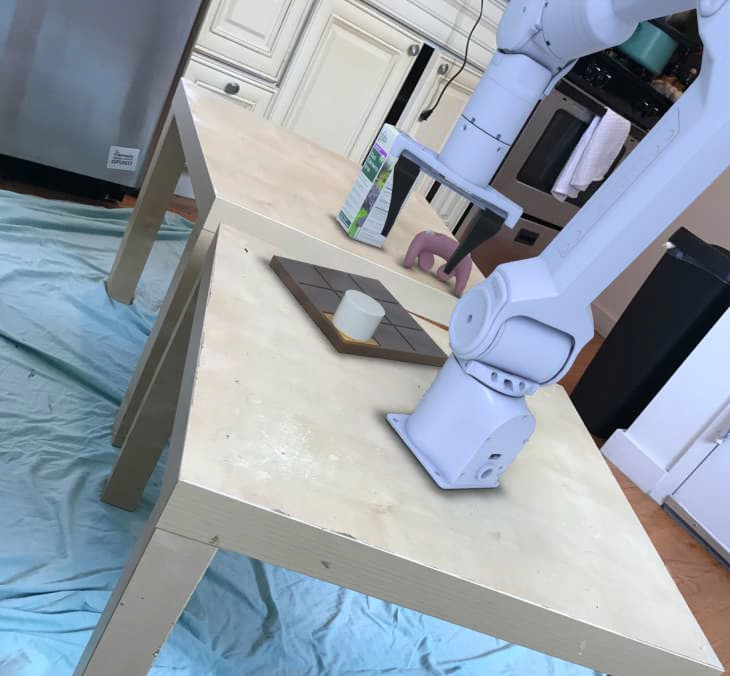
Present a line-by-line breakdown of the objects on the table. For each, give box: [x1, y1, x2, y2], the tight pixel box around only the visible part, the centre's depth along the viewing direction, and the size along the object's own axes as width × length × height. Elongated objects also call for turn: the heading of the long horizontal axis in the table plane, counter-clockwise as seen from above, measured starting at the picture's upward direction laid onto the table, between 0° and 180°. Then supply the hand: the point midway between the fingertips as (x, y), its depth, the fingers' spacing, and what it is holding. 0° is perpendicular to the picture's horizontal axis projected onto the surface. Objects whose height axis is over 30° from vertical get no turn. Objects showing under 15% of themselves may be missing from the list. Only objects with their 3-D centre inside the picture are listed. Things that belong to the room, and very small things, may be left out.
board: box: [269, 254, 449, 368], centre depth 83 cm, size 16×16×1 cm
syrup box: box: [336, 122, 424, 249], centre depth 103 cm, size 6×6×14 cm
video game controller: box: [403, 229, 473, 296], centre depth 107 cm, size 10×5×7 cm, turn 84°
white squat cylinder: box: [332, 290, 385, 342], centre depth 75 cm, size 4×4×3 cm
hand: (415, 252), depth 79 cm, fingers open, 7 cm apart
